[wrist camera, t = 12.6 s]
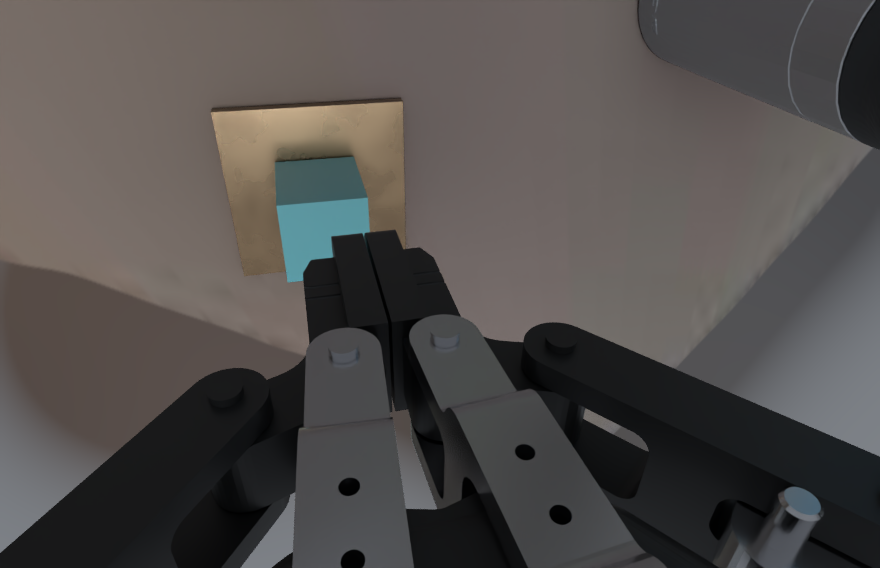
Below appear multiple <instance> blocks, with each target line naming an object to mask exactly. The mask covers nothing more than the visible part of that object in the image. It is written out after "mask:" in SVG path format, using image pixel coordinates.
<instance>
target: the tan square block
mask: <svg viewBox="0 0 880 568" xmlns="http://www.w3.org/2000/svg"><path fill="white" fill-rule="evenodd" d="M211 115H212V120H213V125H214V130H215V134H216V139H217V144H218V149H219V154H220V159H221V164H222V169H223V174H224V179H225V183H226V188H227V193H228V198H229V203H230V208H231V213H232V218H233V223H234V227H235V232H236V237H237V242H238V247H239V252H240V257H241V262H242V267H243V272H244V276H250V275H258V274H267V273H276V272H284V271H286V267H285V260H284V253H283V247H282V240H281V234H280V227H279V220H278V214H277V207H276V185H275V162H286V161H300V160H313V159H327V158H341V157H354V159H355V162H356V165H357V167H358V170H359V173H360V176H361V179H362V182H363V185H364V188H365V191H366V194H367V197H368V209H369V228H370V232H376V231H386V230H396V232H397V234H398V237H399V239H400V242H401V244H402V247H403V249H406V241H405V190H404V138H403V101H402V100H401V98H393V99H375V100H357V101H339V102H321V103H303V104H285V105H267V106H249V107H231V108H213V109H212V110H211Z"/></svg>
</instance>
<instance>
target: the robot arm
mask: <svg viewBox="0 0 880 568" xmlns="http://www.w3.org/2000/svg"><path fill="white" fill-rule="evenodd" d="M638 12H639V24H640V28H641V32H642V35H643V38H644V40H645V42H646V43H647V45H648V47H649V49H650V50H651V51H652V52H654V53H655V54H656V55H657V56H658V57H660V58H661V59H663V60H665V61H667V62H670V63H672V64H674V65H677V66H679V67H682V68H684V69H686V70H689V71H691V72H693V73H695V74H698V75H700V76H702V77H705V78H707V79H710V80H712V81H714V82H717V83H719V84H722V85H724V86H726V87H729V88H731V89H734V90H736V91H739V92H741V93H743V94H746V95H748V96H751V97H753V98H755V99H758V100H760V101H763V102H765V103H767V104H770V105H772V106H775V107H777V108H779V109H782V110H784V111H787V112H789V113H792V114H794V115H796V116H799V117H801V118H804V119H806V120H808V121H811V122H814V123H816V124H819V125H821V126H824V127H826V128H828V129H831V130H833V131H836V132H838V133H840V134H843V135H845V136H848V137H850V138H852V139H855V140H857V141H860V142H862V143H864V144H866V145H869V146H871V147H874V148H876V149H879V150H880V0H639V10H638ZM331 243H332V253H333V257H332V258H323V259H314V260H311V261H310V262H309V264H308V265H307V267H306V269H305V270H304V272H303V281H304V291H305V301H306V311H307V322H308V332H309V346H308V348H307V351H306V356H305V357H304V359H303V360H302V361H301V362H300V363H299V364H298V365H296V366H295V367H294V368H292V369H291V370H289V371H287V372H285V373H283V374H281V375H278V376H276V377H273V378H271V379H268V380H266V379H265V378H264V376H262V375H261V374H260V373H258V372H256V371H254V370H249V369H244V368H232V369H226V370H220V371H218V372H215V373H212V374H210V375H208V376H206V377H204V378H202V379H201V380H199V381H198V382H197V383H195V384H194V385H193V386H192V387H191V388H190V389H188V390H187V391H186V392H185V393H184V394H183V395H182V396H180V397H179V398H178V399H177V400H176V401H175V402H173V403H172V405H170V406H169V407H168V408H167V409H165V410H164V411H163V412H162V413H161V414H160V415H159V416H157V417H156V418H155V419H154V420H153V421H152V422H150V423H149V424H148V425H147V426H146V427H145V428H144V429H142V430H141V431H140V432H139V433H138V434H137V435H136V436H134V437H133V438H132V439H131V440H130V441H129V442H127V443H126V444H125V445H124V446H123V447H122V448H121V449H119V450H118V451H117V452H116V453H115V454H114V455H113V456H112V457H110V458H109V459H108V460H107V461H106V462H105V463H103V464H102V465H101V466H100V467H99V468H98V469H97V470H95V471H94V472H93V473H92V474H91V475H90V476H88V477H87V478H86V479H85V480H84V481H83V482H82V483H80V484H79V485H78V486H77V487H76V488H75V489H73V490H72V491H71V492H70V493H69V494H68V495H67V496H65V497H64V498H63V499H62V500H61V501H60V502H59V503H57V504H56V505H55V506H54V507H53V508H52V509H51V510H49V511H48V512H47V513H46V514H45V515H44V516H42V517H41V518H40V519H39V520H38V521H37V522H35V523H34V524H33V525H32V526H31V527H30V528H29V529H27V530H26V531H25V532H24V533H23V534H22V535H21V536H19V537H18V538H17V539H16V540H15V541H14V542H12V544H10V545H9V546H8V547H7V548H6V549H4V550H3V551H2V552H1V553H0V568H240V567H241V566H242V565H243V563H244V562H245V561H246V560H247V558H248V557H249V555H250V554H251V553H252V552H253V550H254V549H255V548H256V546H257V545H258V544H259V542H260V541H261V540H262V539H263V537H264V536H265V535H266V533H267V532H268V531H269V529H270V528H271V527H272V525H273V524H274V523H275V522H276V520H277V519H278V518H279V516H280V515H281V514H282V512H283V511H284V509H285V508H286V506H287V504H288V502H289V498H290V494H292V493H294V492H295V517H294V540H293V552H292V553H291V554H289V555H287V556H286V557H285V558H284V559H282V560H281V561H280V562H278V563H277V564H276V565H275V566H273V567H272V568H880V457H879V456H877V455H875V454H872V453H870V452H867V451H865V450H863V449H860V448H858V447H856V446H854V445H851V444H849V443H847V442H844V441H841V440H839V439H837V438H835V437H833V436H830V435H828V434H826V433H823V432H821V431H819V430H816V429H814V428H811V427H809V426H807V425H805V424H802V423H800V422H797V421H795V420H792V419H790V418H788V417H786V416H783V415H781V414H779V413H776V412H774V411H772V410H769V409H767V408H765V407H762V406H760V405H758V404H755V403H753V402H751V401H748V400H746V399H744V398H741V397H739V396H737V395H734V394H732V393H730V392H727V391H725V390H723V389H720V388H718V387H716V386H713V385H711V384H709V383H706V382H704V381H702V380H699V379H697V378H695V377H692V376H690V375H688V374H685V373H683V372H681V371H678V370H676V369H674V368H671V367H669V366H667V365H664V364H662V363H660V362H657V361H655V360H652V359H650V358H648V357H645V356H643V355H641V354H638V353H636V352H634V351H631V350H629V349H627V348H624V347H622V346H620V345H617V344H615V343H613V342H610V341H608V340H606V339H603V338H601V337H599V336H596V335H594V334H592V333H589V332H587V331H585V330H582V329H580V328H578V327H575V326H572V325H569V324H565V323H554V322H552V323H544V324H540V325H537V326H535V327H533V328H531V329H530V330H529V331H528V332H527V333H526V335H525V337H524V342H510V341H499V340H493V339H489V338H486V337H483V336H482V334H481V333H480V331H479V329H478V328H477V327H476V326H475V325H474V324H473V323H472V322H470V321H469V320H467V319H465V318H462V317H461V316H460V314H459V312H458V309H457V307H456V305H455V303H454V301H453V299H452V296H451V294H450V292H449V290H448V288H447V286H446V283H444V279H443V277H442V275H441V273H440V272H439V268H438V266H437V264H436V262H435V260H434V258H433V257H432V256H431V255H429V254H428V253H427V252H425V251H424V250H423V249H421V248H411V249H403V247H402V244H401V242H400V239H399V237H398V234H397V232H396V230H386V231H376V232H367V233H364V236H363V234H362V233H358V234H349V235H339V236H331ZM392 400H393V403H394V408H395V411H400V410H406V409H408V411H409V415H410V418H411V439H412V442H413V445H414V448H415V451H416V453H417V456H418V459H419V461H420V464H421V467H422V469H423V472H424V475H425V477H426V480H427V482H428V486H429V488H430V491H431V493H432V496H433V499H434V501H435V504H436V507H437V509H436V510H428V509H406V507H405V500H404V493H403V485H402V479H401V471H400V464H399V457H398V450H397V443H396V435H395V428H394V422H393V418H392V417H391V416H390V412H392ZM585 408H586V409H588V410H590V411H592V412H594V413H596V414H598V415H600V416H602V417H604V418H606V419H608V420H610V421H612V422H614V423H616V424H618V425H620V426H622V427H624V428H627V429H628V430H630V431H633V432H634V433H636V434H637V435H639V436H640V437H641V438H642V439H643V440H644V441H645V443H646V445H647V447H648V449H649V452H648V451H645V450H643V449H641V448H639V447H637V446H635V445H633V444H631V443H629V442H627V441H625V440H623V439H621V438H619V437H617V436H615V435H613V434H611V433H609V432H607V431H606V430H604V429H602V428H600V427H598V426H596V425H594V424H592V423H590V422H588V421H586V420H584V419H583V416H584V412H585Z"/></svg>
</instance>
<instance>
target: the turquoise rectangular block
mask: <svg viewBox="0 0 880 568" xmlns="http://www.w3.org/2000/svg"><path fill="white" fill-rule="evenodd" d="M275 185H276V207H277V214H278V220H279V227H280V234H281V240H282V247H283V253H284V260H285V267H286V273H287V280H288V282H296V281H303V272H304V270H305V269H306V267H307V265H308V264H309V262H310V261H311V260H314V259H323V258H332V257H333V253H332V243H331V236H339V235H349V234H358V233H362V234H363V236H364V233H367V232H370V228H369V209H368V197H367V194H366V191H365V188H364V185H363V182H362V179H361V176H360V173H359V170H358V167H357V165H356V162H355V159H354V157H341V158H327V159H313V160H300V161H286V162H275Z"/></svg>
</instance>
